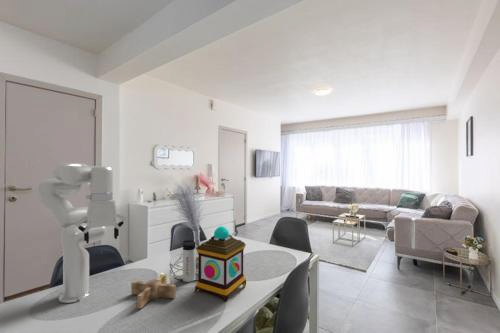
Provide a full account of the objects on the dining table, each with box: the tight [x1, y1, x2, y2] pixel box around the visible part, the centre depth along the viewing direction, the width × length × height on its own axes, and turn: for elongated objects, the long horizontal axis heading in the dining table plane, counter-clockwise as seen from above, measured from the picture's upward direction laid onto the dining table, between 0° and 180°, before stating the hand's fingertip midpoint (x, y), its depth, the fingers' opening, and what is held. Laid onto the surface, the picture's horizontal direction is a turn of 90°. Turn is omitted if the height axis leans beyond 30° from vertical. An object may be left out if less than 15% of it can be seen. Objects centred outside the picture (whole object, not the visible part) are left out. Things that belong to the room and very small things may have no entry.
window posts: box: [159, 272, 175, 285], centre depth 119 cm, size 5×5×5 cm
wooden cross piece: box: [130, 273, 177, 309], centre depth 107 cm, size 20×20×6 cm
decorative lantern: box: [194, 225, 247, 302], centre depth 116 cm, size 20×20×30 cm
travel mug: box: [182, 239, 197, 283], centre depth 124 cm, size 6×7×20 cm
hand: (101, 240), depth 98 cm, fingers open, 9 cm apart
